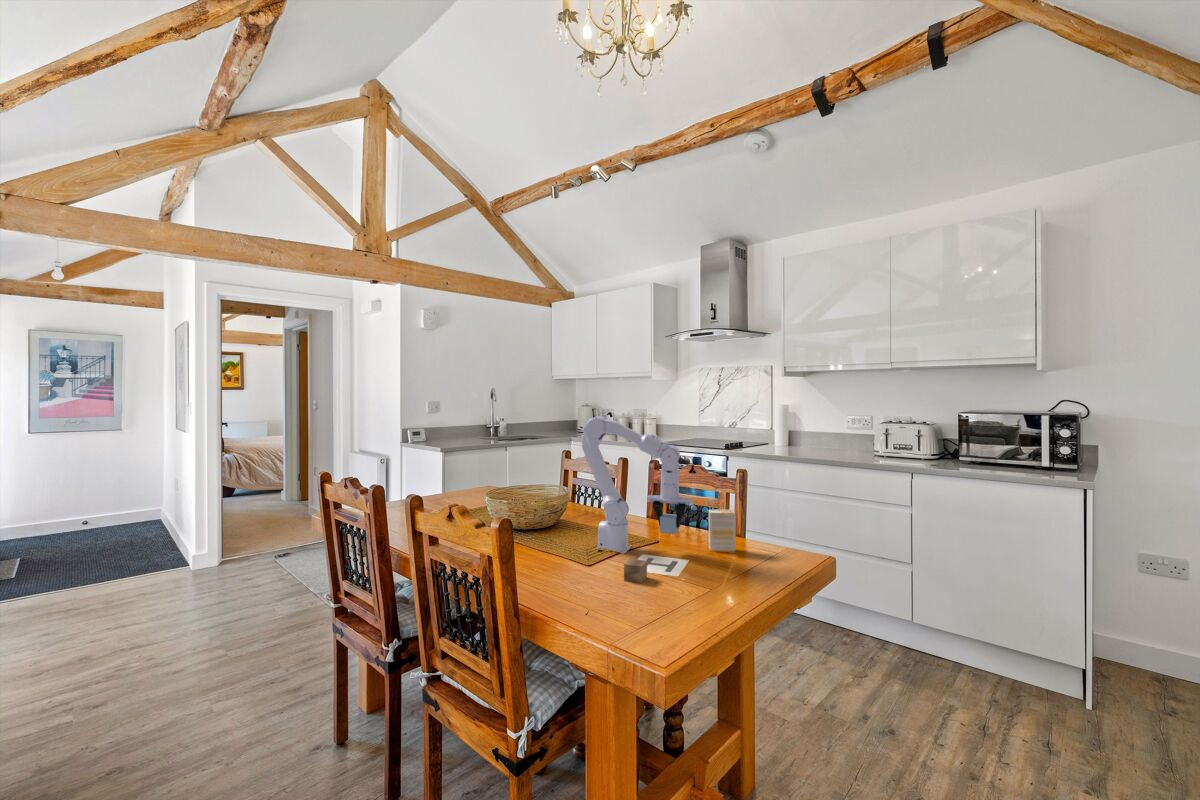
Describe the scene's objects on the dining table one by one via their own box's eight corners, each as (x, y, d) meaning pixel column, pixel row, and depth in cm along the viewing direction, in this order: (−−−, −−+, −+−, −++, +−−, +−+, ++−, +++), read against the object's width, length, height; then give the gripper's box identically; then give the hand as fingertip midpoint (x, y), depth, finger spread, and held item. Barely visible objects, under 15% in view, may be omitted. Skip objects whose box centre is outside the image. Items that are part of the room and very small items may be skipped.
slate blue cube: (659, 532, 172) (660, 517, 172) (663, 528, 177) (663, 513, 177) (675, 534, 171) (675, 518, 171) (678, 530, 175) (679, 514, 175)
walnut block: (623, 582, 149) (624, 564, 149) (629, 576, 154) (630, 558, 154) (641, 584, 148) (641, 566, 147) (646, 578, 152) (646, 560, 152)
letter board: (627, 570, 158) (627, 569, 158) (642, 555, 172) (642, 554, 172) (678, 577, 153) (678, 576, 153) (689, 561, 167) (689, 560, 167)
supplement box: (733, 548, 180) (733, 509, 179) (735, 553, 175) (736, 512, 174) (707, 547, 180) (708, 508, 180) (709, 552, 176) (709, 512, 175)
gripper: (644, 484, 172) (644, 526, 173) (690, 487, 167) (689, 531, 167) (650, 480, 179) (650, 521, 179) (694, 483, 174) (693, 525, 174)
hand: (669, 526), depth 174 cm, fingers closed on slate blue cube, 5 cm apart
